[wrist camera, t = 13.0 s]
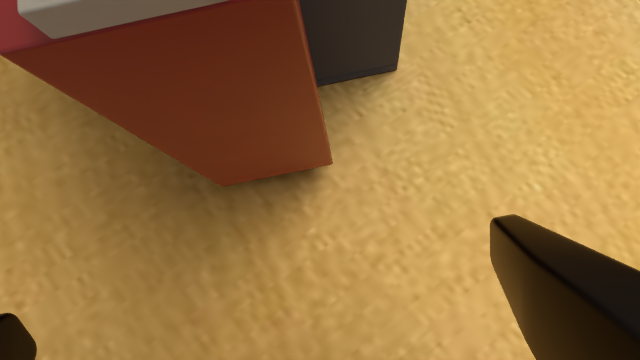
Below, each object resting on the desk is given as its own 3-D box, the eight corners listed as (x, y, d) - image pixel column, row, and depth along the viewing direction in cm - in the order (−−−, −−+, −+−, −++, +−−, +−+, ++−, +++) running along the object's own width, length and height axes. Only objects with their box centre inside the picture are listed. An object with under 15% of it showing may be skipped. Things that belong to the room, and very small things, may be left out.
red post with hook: (333, 164, 19) (285, -47, 6) (221, 187, 20) (-50, 28, 6) (300, -1, 21) (208, -438, 8) (197, 22, 21) (-58, -368, 8)
